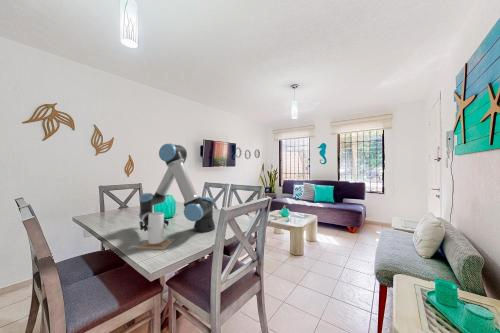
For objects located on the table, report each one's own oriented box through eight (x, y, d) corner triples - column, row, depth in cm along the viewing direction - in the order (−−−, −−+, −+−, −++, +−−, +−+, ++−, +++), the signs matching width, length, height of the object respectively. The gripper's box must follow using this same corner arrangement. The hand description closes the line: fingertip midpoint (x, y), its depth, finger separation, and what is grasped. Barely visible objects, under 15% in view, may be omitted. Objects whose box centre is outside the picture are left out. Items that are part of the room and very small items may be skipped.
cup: (151, 238, 119) (151, 212, 118) (165, 238, 119) (166, 212, 119) (145, 244, 110) (145, 215, 110) (160, 243, 111) (161, 215, 111)
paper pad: (174, 240, 121) (174, 239, 121) (164, 249, 108) (164, 248, 108) (148, 239, 122) (148, 238, 122) (136, 248, 109) (136, 247, 109)
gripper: (166, 222, 135) (177, 231, 118) (130, 228, 122) (137, 239, 105) (166, 211, 135) (177, 219, 117) (131, 216, 122) (137, 225, 104)
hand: (158, 228), depth 111 cm, fingers closed on cup, 8 cm apart
